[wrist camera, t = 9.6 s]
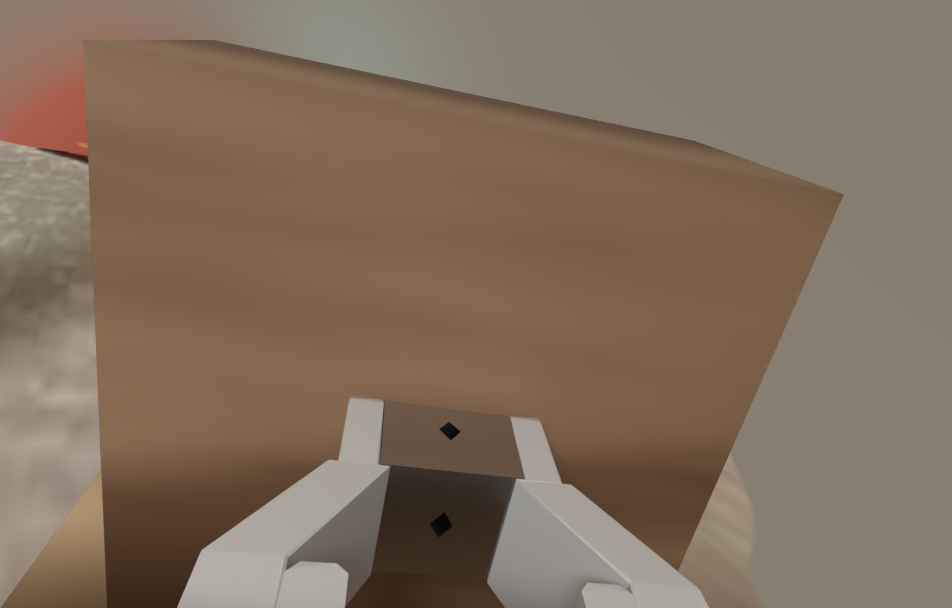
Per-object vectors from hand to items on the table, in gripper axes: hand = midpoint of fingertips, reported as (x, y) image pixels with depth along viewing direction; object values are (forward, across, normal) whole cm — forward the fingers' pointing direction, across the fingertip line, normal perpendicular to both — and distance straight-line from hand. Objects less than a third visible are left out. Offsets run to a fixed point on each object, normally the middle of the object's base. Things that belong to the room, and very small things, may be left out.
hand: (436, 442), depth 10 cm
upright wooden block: (+4, 0, +5) cm, 7 cm away
